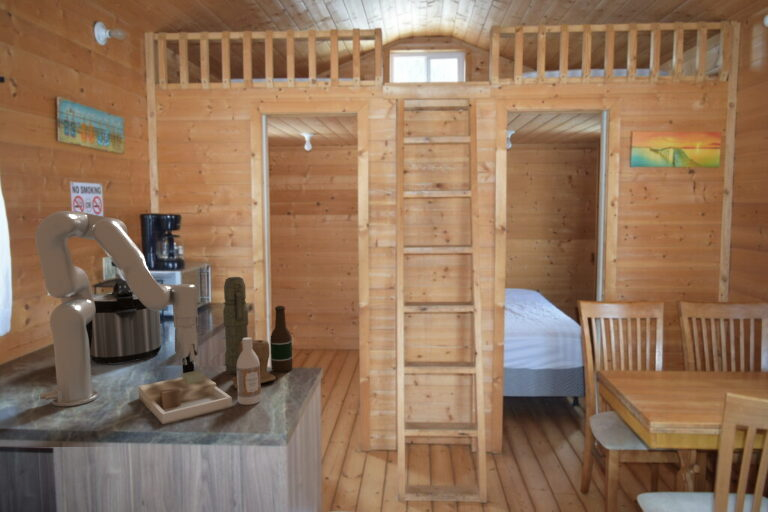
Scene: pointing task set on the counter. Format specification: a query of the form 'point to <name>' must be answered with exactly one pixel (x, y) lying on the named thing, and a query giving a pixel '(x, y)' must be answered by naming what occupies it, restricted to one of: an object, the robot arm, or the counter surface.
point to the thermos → (234, 320)
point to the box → (193, 407)
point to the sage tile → (192, 377)
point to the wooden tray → (186, 391)
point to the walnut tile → (170, 398)
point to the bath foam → (248, 375)
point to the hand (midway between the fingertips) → (188, 375)
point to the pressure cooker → (123, 328)
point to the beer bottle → (281, 344)
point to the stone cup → (263, 355)
